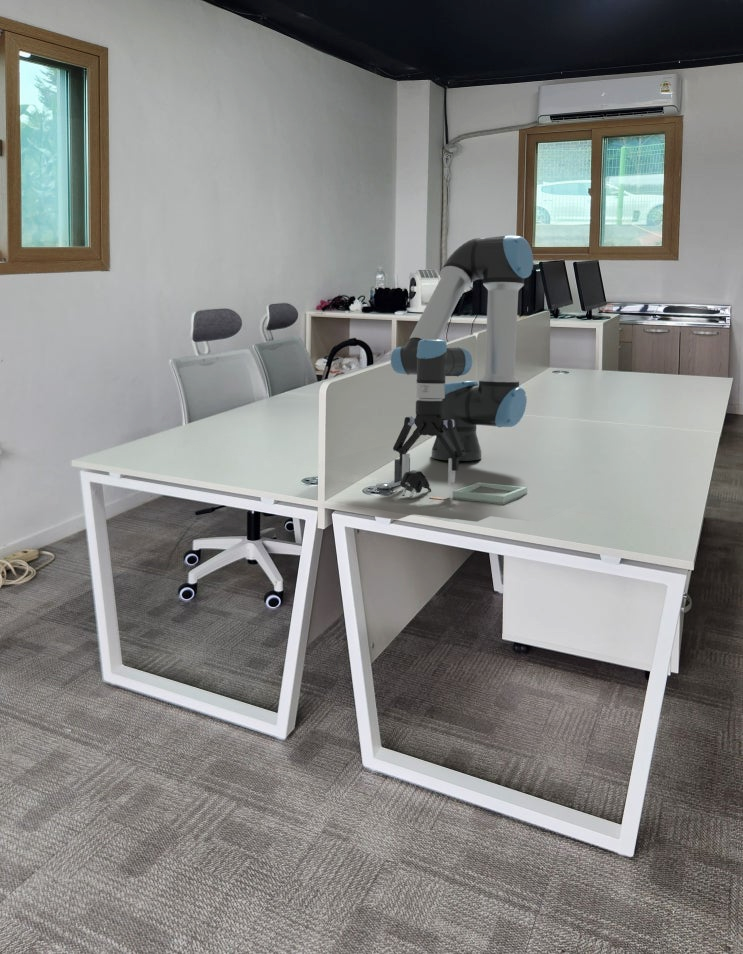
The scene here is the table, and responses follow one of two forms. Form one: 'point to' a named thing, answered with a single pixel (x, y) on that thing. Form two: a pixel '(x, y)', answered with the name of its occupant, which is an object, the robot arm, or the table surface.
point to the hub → (384, 491)
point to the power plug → (414, 482)
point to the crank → (396, 477)
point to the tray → (490, 497)
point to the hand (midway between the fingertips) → (428, 480)
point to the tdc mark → (437, 498)
